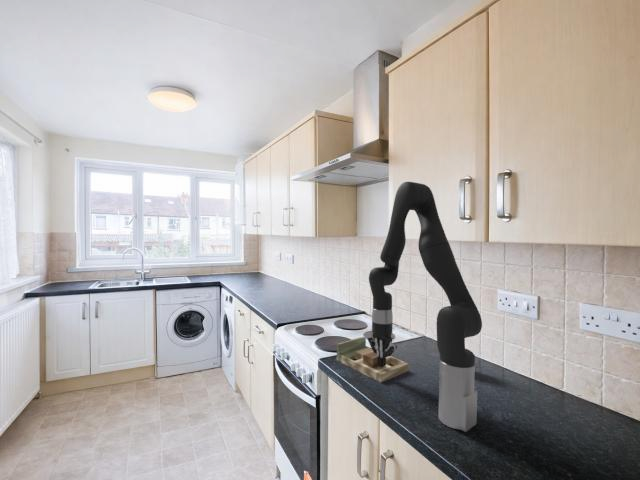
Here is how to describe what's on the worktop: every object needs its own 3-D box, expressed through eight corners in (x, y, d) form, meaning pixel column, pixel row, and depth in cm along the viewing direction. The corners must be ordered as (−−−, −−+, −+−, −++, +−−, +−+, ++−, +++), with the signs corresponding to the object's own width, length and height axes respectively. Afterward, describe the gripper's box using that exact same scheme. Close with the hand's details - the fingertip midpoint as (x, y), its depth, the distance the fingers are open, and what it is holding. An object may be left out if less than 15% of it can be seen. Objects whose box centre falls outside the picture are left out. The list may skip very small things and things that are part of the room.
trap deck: (408, 371, 121) (408, 353, 121) (380, 382, 112) (380, 363, 112) (363, 351, 141) (363, 336, 141) (336, 360, 131) (336, 343, 131)
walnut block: (381, 364, 120) (381, 355, 120) (372, 367, 117) (372, 358, 117) (371, 360, 124) (372, 351, 124) (362, 363, 121) (363, 354, 121)
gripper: (403, 322, 114) (402, 369, 114) (375, 315, 124) (375, 358, 124) (389, 326, 109) (388, 375, 109) (362, 318, 120) (361, 362, 120)
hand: (381, 366), depth 117 cm, fingers closed
